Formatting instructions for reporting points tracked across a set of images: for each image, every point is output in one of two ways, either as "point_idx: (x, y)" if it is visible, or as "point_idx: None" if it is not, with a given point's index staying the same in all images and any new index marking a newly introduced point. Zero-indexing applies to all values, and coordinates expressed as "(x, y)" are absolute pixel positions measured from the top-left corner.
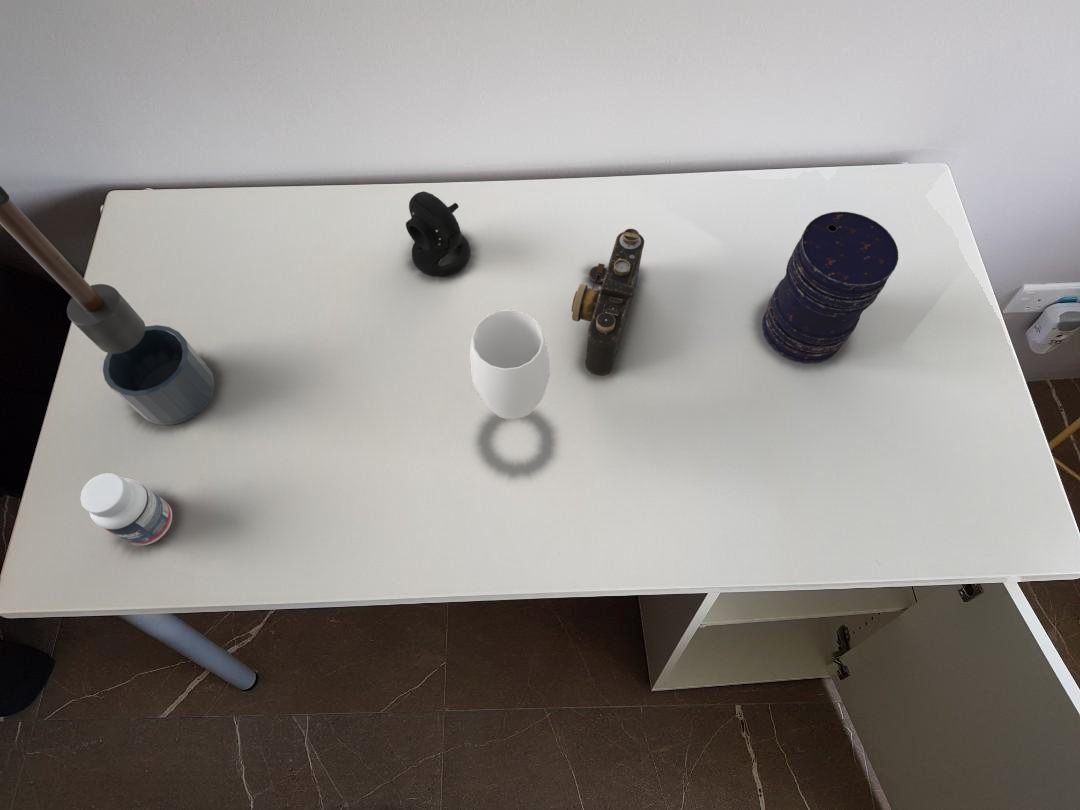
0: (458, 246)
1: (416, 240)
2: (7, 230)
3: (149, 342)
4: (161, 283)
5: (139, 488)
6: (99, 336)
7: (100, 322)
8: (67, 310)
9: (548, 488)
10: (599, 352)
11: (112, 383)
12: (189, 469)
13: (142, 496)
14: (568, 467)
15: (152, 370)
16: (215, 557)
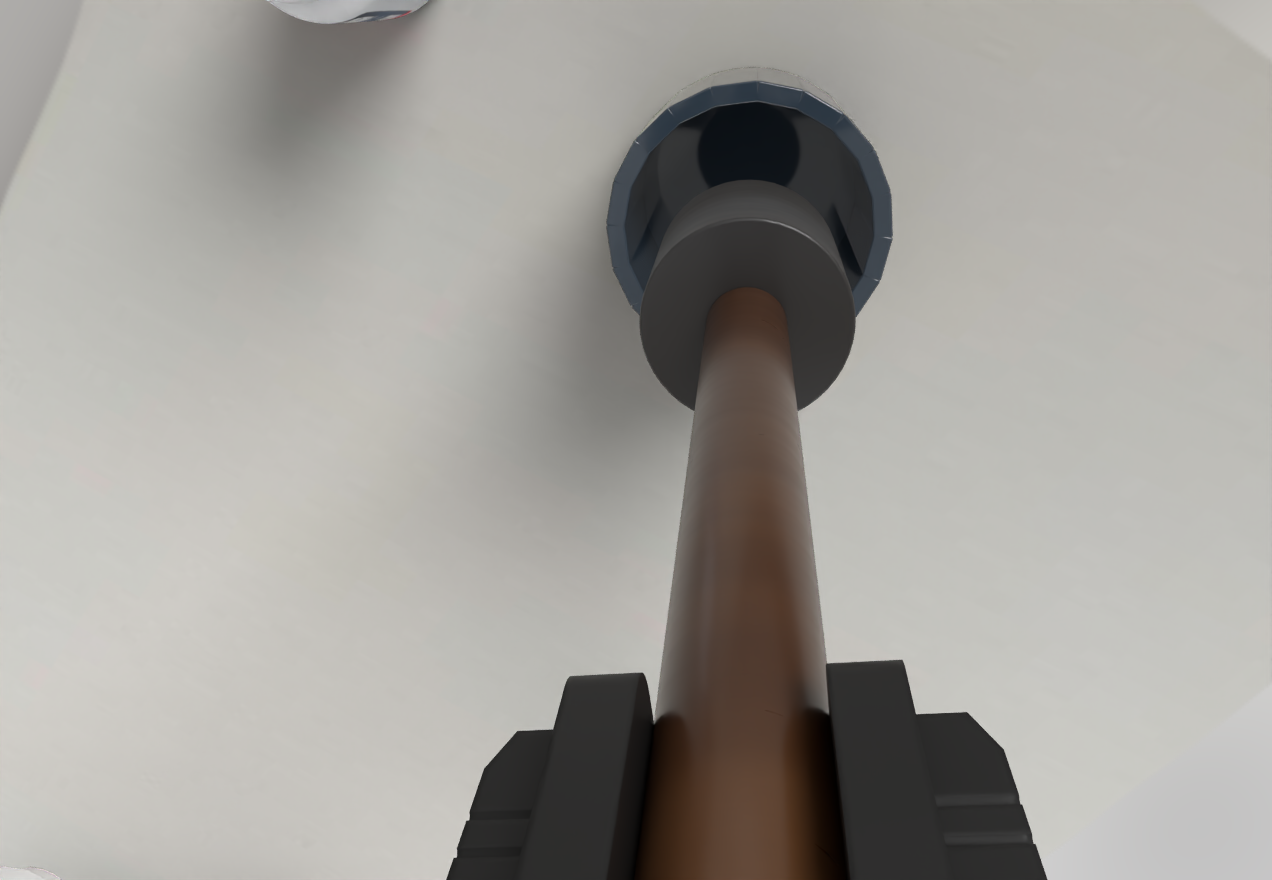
0: None
1: None
2: (707, 529)
3: (860, 245)
4: (1165, 324)
5: (312, 16)
6: (660, 250)
7: (641, 312)
8: (783, 227)
9: (36, 726)
10: None
11: (727, 98)
12: (478, 114)
13: (287, 11)
14: (63, 776)
15: (849, 169)
16: (193, 62)
